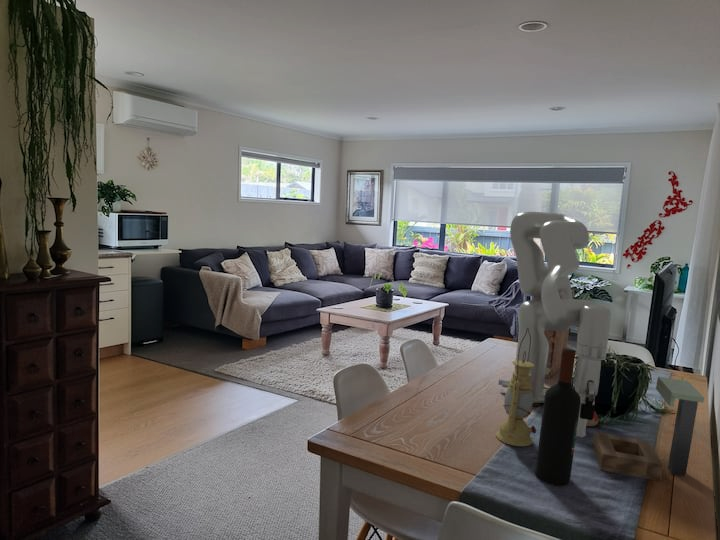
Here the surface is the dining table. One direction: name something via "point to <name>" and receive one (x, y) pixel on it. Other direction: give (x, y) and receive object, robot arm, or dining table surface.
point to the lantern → (518, 405)
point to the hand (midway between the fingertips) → (583, 412)
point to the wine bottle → (559, 426)
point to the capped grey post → (680, 419)
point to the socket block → (627, 456)
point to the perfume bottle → (581, 421)
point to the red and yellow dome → (592, 422)
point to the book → (555, 347)
